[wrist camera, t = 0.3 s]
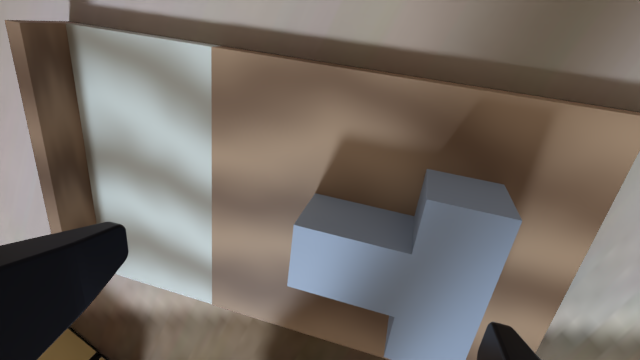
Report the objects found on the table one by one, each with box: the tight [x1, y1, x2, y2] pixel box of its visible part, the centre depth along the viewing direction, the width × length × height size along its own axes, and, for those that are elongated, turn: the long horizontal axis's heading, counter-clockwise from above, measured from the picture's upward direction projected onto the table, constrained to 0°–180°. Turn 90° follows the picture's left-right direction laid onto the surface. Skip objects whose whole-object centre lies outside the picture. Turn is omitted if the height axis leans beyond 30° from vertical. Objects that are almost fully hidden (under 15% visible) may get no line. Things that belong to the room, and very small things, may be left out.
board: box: [5, 20, 640, 360], centre depth 23 cm, size 19×33×4 cm, turn 82°
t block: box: [287, 169, 522, 360], centre depth 20 cm, size 10×10×4 cm
